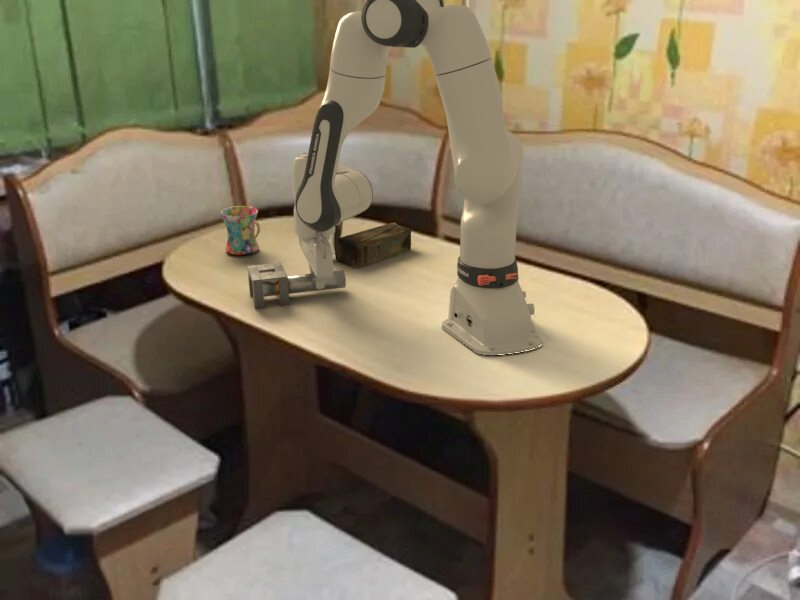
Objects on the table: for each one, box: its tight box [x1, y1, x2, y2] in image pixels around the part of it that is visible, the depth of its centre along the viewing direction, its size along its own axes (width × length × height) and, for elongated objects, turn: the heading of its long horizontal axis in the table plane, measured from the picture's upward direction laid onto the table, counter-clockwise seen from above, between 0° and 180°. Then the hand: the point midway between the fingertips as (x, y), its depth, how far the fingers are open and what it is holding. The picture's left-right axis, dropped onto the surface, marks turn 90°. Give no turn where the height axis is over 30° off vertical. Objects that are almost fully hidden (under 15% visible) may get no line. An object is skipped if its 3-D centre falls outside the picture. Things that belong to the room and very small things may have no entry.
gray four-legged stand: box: [247, 262, 290, 310], centre depth 195 cm, size 9×8×7 cm
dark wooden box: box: [336, 222, 412, 270], centre depth 220 cm, size 8×19×7 cm, turn 135°
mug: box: [219, 205, 261, 256], centre depth 222 cm, size 12×9×11 cm
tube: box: [262, 269, 347, 298], centre depth 197 cm, size 20×4×4 cm, turn 106°
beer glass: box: [328, 221, 345, 262], centre depth 218 cm, size 7×7×15 cm
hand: (317, 283), depth 198 cm, fingers closed on tube, 4 cm apart
